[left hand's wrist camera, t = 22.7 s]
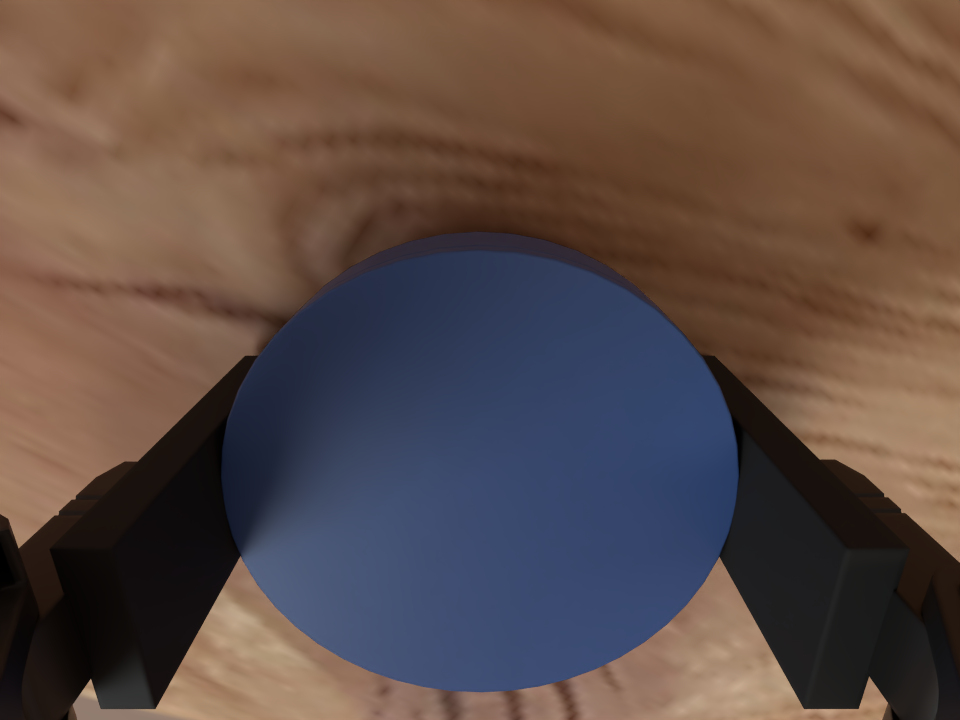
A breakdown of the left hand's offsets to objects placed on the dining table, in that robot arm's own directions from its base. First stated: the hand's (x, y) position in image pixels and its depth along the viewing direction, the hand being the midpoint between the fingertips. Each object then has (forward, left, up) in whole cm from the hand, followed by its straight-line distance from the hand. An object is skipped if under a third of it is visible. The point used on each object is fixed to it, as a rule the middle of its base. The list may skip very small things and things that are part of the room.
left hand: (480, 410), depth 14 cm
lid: (0, 0, +3) cm, 3 cm away
